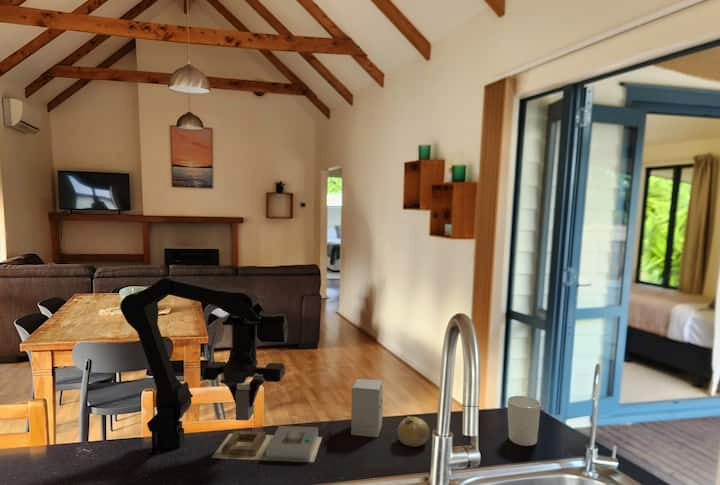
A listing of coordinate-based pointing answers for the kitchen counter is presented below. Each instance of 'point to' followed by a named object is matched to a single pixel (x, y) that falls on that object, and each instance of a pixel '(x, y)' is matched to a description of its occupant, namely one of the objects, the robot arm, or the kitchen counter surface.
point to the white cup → (523, 420)
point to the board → (262, 451)
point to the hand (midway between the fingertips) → (244, 406)
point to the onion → (413, 431)
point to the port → (292, 451)
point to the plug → (243, 402)
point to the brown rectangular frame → (251, 450)
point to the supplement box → (366, 407)
